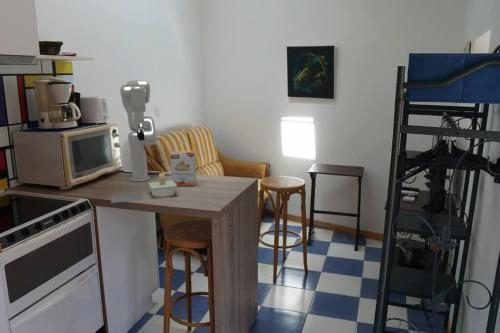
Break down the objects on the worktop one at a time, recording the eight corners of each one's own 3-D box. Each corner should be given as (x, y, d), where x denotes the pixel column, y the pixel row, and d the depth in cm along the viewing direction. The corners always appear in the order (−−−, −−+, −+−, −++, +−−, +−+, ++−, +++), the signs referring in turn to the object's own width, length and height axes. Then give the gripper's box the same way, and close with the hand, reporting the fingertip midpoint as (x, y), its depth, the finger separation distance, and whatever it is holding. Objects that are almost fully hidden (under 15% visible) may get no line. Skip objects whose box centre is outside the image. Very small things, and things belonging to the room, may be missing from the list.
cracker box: (171, 186, 251) (169, 152, 247) (174, 183, 257) (172, 150, 252) (194, 186, 250) (192, 152, 245) (196, 184, 255) (195, 150, 251)
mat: (110, 196, 231) (110, 196, 231) (140, 193, 236) (140, 193, 236) (111, 203, 218) (111, 203, 218) (142, 200, 223) (142, 199, 223)
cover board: (148, 184, 237) (147, 172, 235) (173, 181, 241) (172, 170, 240) (151, 190, 224) (150, 177, 222) (177, 187, 228) (176, 175, 227)
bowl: (151, 192, 237) (150, 184, 236) (172, 190, 241) (171, 182, 240) (153, 198, 226) (153, 189, 225) (175, 196, 230) (175, 187, 229)
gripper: (130, 108, 240) (133, 137, 244) (132, 110, 224) (135, 141, 228) (144, 107, 243) (146, 136, 246) (147, 109, 227) (149, 140, 230)
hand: (140, 139), depth 237 cm, fingers open, 9 cm apart
